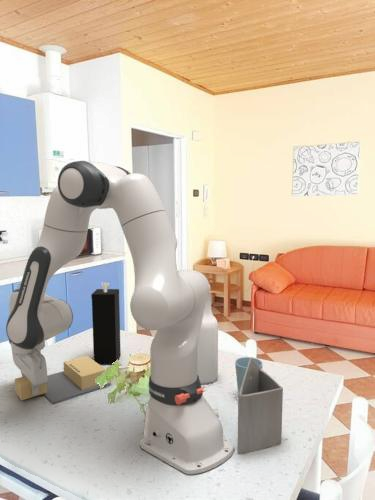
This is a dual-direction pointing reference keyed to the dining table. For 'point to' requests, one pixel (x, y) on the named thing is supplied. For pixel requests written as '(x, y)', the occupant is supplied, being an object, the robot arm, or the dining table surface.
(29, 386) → the small cardboard box
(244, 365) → the cup
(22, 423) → the dining table surface
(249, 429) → the planter
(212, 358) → the alcohol
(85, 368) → the tan block on base
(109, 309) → the black square bottle
